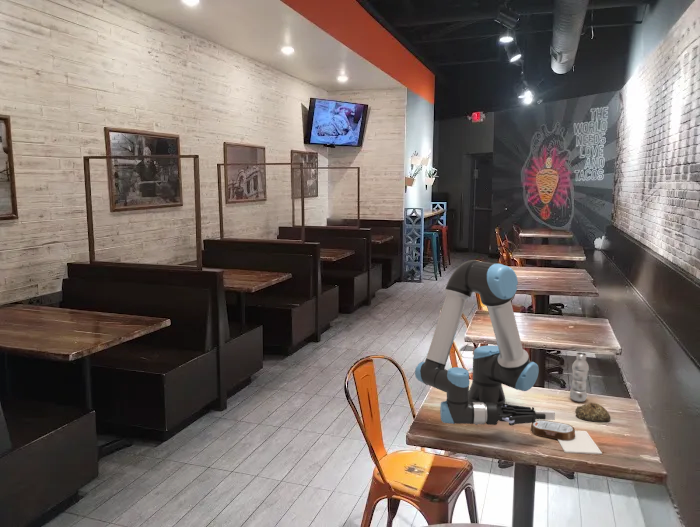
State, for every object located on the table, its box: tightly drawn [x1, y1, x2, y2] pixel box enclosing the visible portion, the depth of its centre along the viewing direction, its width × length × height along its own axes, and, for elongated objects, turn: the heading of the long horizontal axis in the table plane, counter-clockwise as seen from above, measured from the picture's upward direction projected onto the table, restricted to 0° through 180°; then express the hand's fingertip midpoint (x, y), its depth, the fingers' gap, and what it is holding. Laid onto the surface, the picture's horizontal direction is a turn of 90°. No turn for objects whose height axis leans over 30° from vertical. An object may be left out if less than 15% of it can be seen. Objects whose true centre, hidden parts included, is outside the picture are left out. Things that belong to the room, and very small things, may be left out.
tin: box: [530, 419, 576, 440], centre depth 200 cm, size 15×3×8 cm
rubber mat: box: [556, 430, 603, 455], centre depth 194 cm, size 12×16×1 cm
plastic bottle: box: [569, 352, 590, 403], centre depth 228 cm, size 6×7×20 cm
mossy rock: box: [575, 402, 611, 423], centre depth 216 cm, size 13×12×5 cm
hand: (554, 415), depth 193 cm, fingers closed
